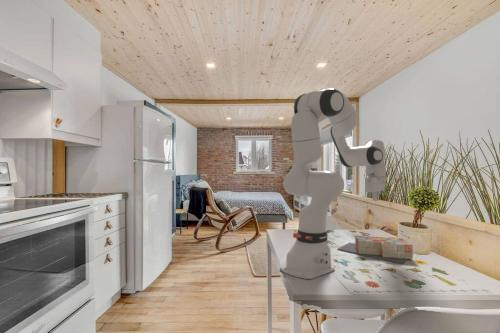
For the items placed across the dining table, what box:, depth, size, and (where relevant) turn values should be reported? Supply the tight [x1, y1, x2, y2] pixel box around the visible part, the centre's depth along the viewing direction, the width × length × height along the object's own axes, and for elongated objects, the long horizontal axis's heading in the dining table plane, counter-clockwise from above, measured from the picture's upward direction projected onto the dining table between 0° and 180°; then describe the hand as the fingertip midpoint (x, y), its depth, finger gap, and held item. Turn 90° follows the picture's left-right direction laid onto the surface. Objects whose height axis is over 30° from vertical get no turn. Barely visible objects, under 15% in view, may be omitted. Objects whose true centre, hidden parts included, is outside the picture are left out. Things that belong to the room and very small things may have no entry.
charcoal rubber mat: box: [336, 242, 407, 265], centre depth 118 cm, size 15×28×1 cm, turn 47°
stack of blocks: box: [354, 235, 414, 260], centre depth 116 cm, size 21×6×12 cm
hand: (375, 200), depth 123 cm, fingers closed
